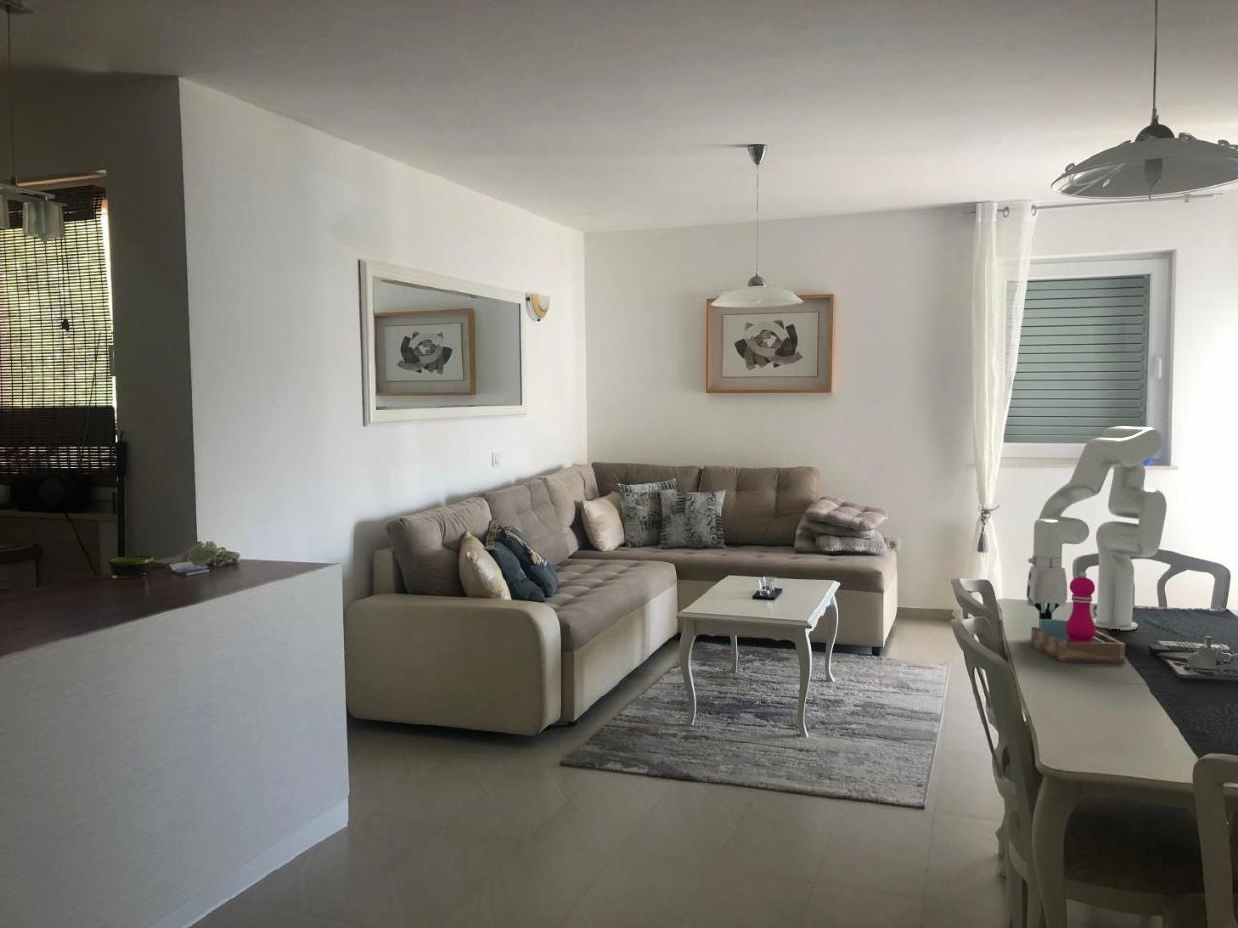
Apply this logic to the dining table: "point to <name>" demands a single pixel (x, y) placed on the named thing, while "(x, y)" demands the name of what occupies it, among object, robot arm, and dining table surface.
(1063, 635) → the drawer
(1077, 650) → the cubby
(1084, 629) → the pepper mill
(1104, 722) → the dining table surface
